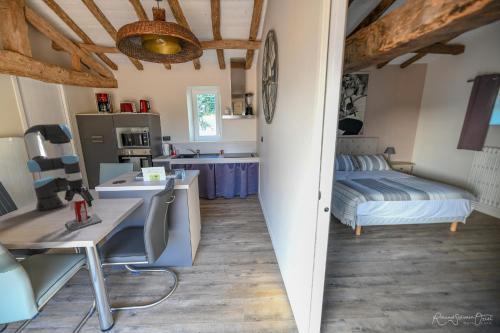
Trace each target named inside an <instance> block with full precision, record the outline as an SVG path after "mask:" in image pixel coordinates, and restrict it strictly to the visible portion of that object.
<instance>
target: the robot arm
mask: <svg viewBox="0 0 500 333" xmlns="http://www.w3.org/2000/svg"><path fill="white" fill-rule="evenodd" d="M23 140H24V143H26V144H27V148H28V152H29V157H30V160H27V161H26V165H27V169H28V172H29V173H31V174H35V173H44V172H51V171H57V170H58V174H57V177H54V176H47V177H42V178H40V179H36V180H35V181H34V182H33V189H34V193H35V196H36V205H35V208H36V211H37V212H45V211H52V210H54V209H58V208H60V207H62V206H63V205H64V202H63V200H62V199H61V198H60V197H59V194H58V193H63V192H65V195H64V200H65V201H67V202H68V207H69V210H70V212H72V211H75V207H74V201H75V200H74V197H75V195H79V196H80V197H81V198H82V199H84V200H85V201H86V209H87V213H91V212H92V211H93V204H92V202H93V201H94V200H95V199H94V197H93V195H92V194H91V193H90V191H89V190H88V186H83V185H84V179H83V175H82V171H81V166H80V159H79V157H78V155H77V154H75V153H74V154H71V151H70V146H69V144H70V143H71V140H73V135H72V132H71V130H70V128H69V126H68V125H67V124H65V123H64V124H61V123H55V124H54V123H52V124H51V123H49V124H47V123H45V124H35V125H33V126H30V127H29V128H27V129H26V130H25V131H24V134H23ZM48 141H49V143H50V144H51V145H52V146H53V149H54V150H53V151H54V154H55V157H52V158H49V156H48V152H47V150H46V147H45V144H44V142H48Z"/></svg>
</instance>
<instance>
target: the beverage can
mask: <svg viewBox="0 0 500 333" xmlns="http://www.w3.org/2000/svg"><path fill="white" fill-rule="evenodd" d="M74 207H75V210H74V213H75V219H76V221H84V220H87V219H88V217H87V215H88V212H87V207H86V201H85V200H84V199H83V198H76V199H75V200H74Z"/></svg>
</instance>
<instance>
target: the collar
mask: <svg viewBox="0 0 500 333" xmlns="http://www.w3.org/2000/svg"><path fill="white" fill-rule="evenodd" d="M87 217H88V218H89V219H87V220H84V221H76V218H74V219H72V220H73V224H74V225H83V224H86V223H89V222H91V221H93V220H94V216H93V215H92V214H87Z"/></svg>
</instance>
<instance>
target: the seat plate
mask: <svg viewBox="0 0 500 333" xmlns="http://www.w3.org/2000/svg"><path fill="white" fill-rule="evenodd" d="M91 215H93V216H94V220H93V221H91V222H89V223H86V224H83V225H74V224H73V220H74V219H71V220H68V221H65V224H66V226H67V228H68V230H69V232H73V231H77V230H80V229H83V228H86V227H89V226H93V225H96V224H99V223H102V222H103V220H102V219H101V218H100V217H99V215H98V214H97V213H93V214H91ZM88 219H89V218H88Z"/></svg>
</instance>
